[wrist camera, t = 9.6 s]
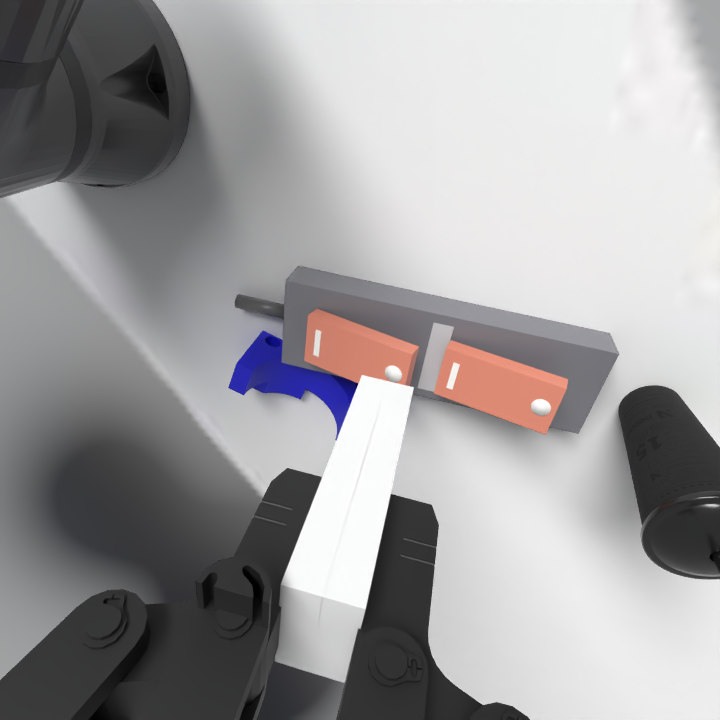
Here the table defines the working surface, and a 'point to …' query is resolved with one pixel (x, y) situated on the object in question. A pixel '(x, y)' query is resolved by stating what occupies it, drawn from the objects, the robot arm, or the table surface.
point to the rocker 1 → (357, 350)
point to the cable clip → (289, 377)
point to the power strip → (446, 334)
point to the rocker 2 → (500, 386)
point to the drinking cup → (674, 481)
